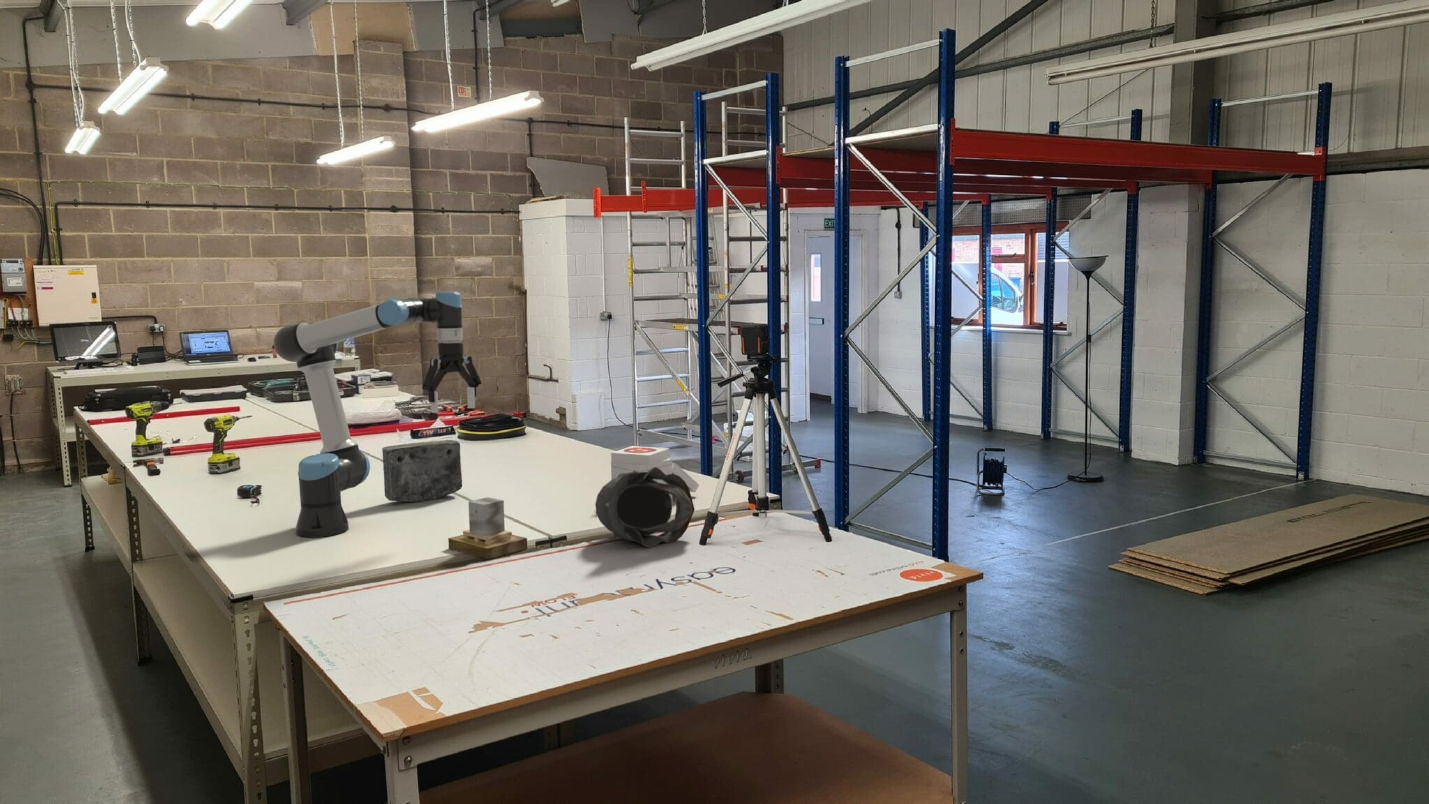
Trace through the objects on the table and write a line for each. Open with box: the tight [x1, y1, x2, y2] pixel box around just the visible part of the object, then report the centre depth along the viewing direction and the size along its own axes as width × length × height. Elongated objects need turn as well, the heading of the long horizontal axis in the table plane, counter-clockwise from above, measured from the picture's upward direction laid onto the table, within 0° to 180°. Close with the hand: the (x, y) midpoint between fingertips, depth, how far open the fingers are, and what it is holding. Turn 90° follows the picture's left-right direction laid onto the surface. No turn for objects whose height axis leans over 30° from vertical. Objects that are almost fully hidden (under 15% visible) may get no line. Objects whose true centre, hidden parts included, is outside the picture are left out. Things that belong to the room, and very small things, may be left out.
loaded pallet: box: [462, 496, 513, 544], centre depth 281 cm, size 8×12×11 cm, turn 51°
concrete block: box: [382, 439, 463, 503], centre depth 345 cm, size 27×9×20 cm, turn 125°
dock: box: [447, 534, 528, 560], centre depth 282 cm, size 14×18×3 cm
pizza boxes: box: [610, 445, 700, 500], centre depth 343 cm, size 19×30×18 cm, turn 135°
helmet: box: [595, 467, 695, 549], centre depth 290 cm, size 23×32×25 cm
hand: (453, 410), depth 305 cm, fingers open, 13 cm apart
